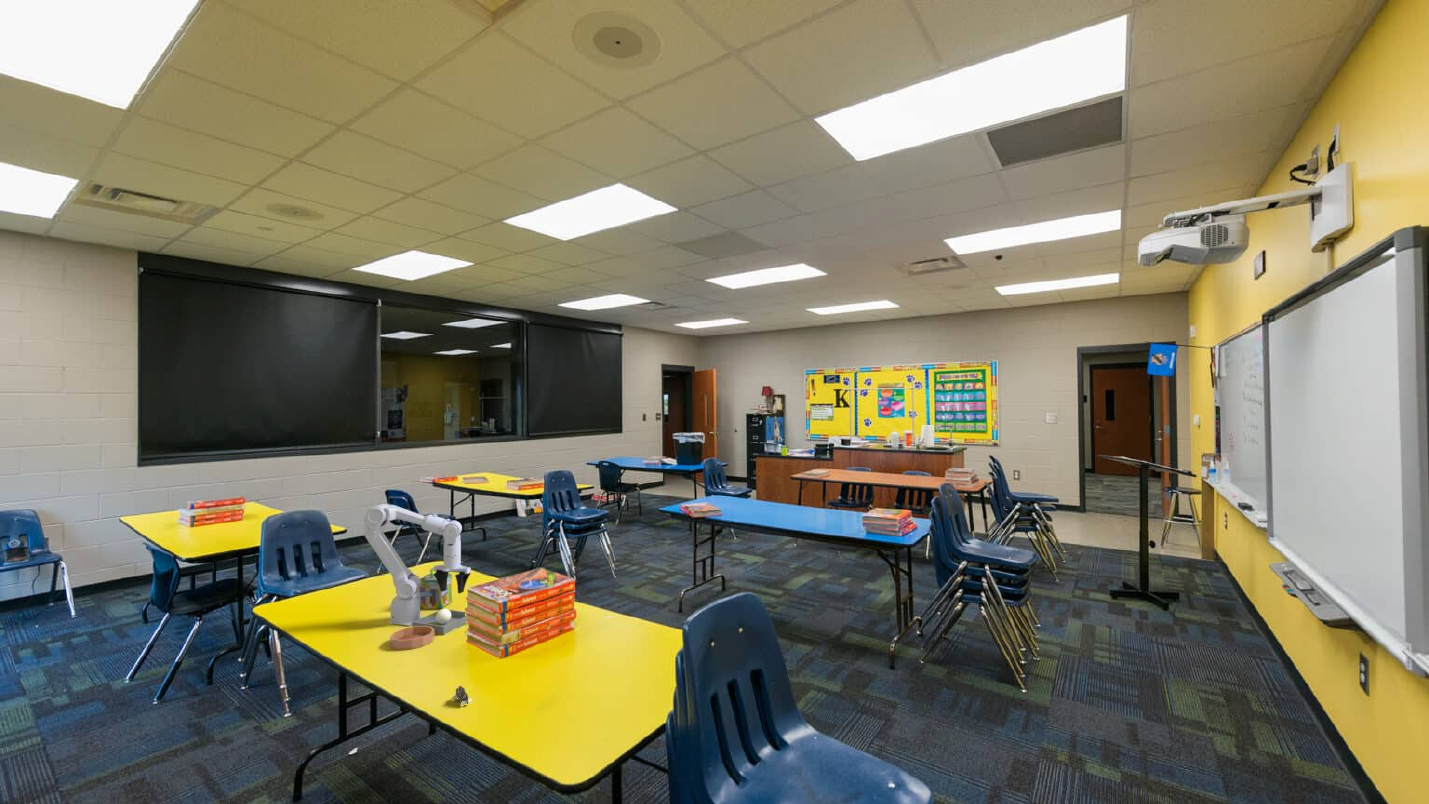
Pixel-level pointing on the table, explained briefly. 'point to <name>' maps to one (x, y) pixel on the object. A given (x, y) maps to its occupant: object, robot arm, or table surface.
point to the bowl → (412, 637)
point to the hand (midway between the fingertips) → (452, 591)
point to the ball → (443, 616)
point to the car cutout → (461, 696)
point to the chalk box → (434, 592)
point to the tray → (430, 620)
